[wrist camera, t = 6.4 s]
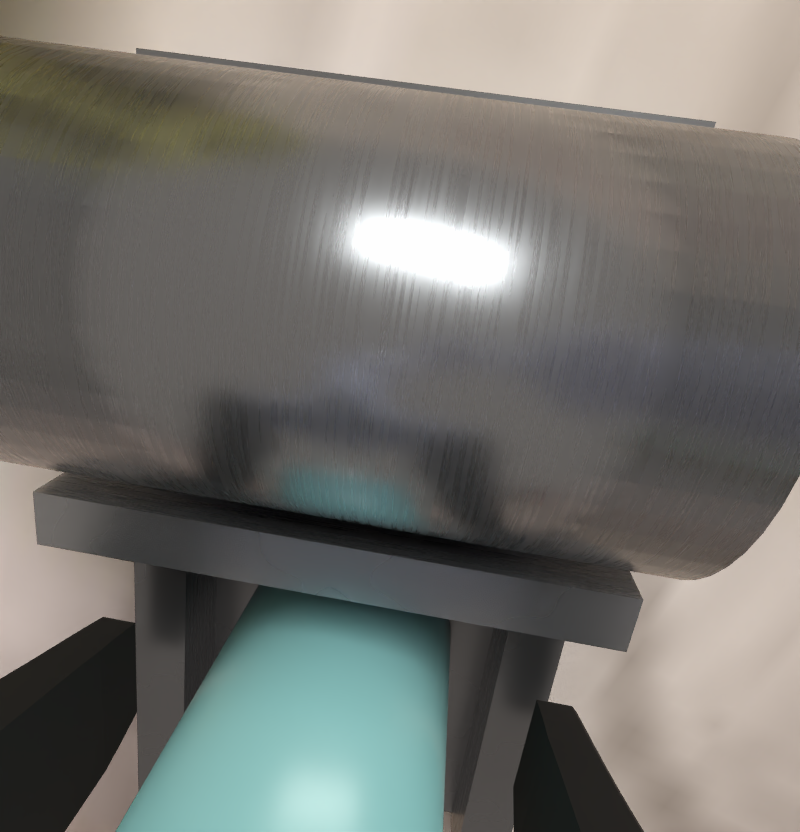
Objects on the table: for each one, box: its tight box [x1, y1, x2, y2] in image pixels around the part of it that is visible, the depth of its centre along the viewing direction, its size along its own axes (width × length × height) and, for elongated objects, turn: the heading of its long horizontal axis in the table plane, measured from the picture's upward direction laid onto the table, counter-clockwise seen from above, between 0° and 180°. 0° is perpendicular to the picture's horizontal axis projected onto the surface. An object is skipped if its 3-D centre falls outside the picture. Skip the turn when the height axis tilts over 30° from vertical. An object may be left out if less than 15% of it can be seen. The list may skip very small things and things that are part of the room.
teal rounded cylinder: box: [116, 585, 451, 832], centre depth 9 cm, size 4×4×7 cm
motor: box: [0, 37, 800, 832], centre depth 9 cm, size 10×15×6 cm
